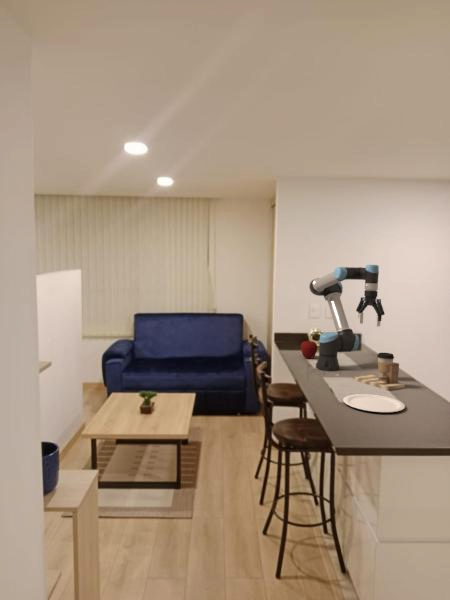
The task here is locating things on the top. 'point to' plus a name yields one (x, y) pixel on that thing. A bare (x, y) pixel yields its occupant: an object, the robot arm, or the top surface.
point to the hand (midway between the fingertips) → (369, 324)
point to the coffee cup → (383, 358)
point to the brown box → (390, 372)
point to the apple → (308, 349)
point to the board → (377, 382)
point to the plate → (374, 403)
